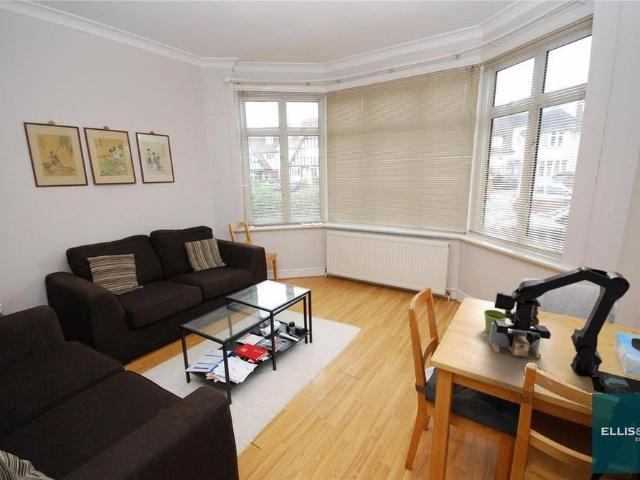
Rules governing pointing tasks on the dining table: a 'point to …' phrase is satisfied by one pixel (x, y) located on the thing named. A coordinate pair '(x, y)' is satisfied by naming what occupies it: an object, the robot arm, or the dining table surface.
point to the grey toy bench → (502, 340)
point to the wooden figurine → (535, 319)
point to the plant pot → (493, 318)
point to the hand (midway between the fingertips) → (517, 347)
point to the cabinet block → (519, 345)
